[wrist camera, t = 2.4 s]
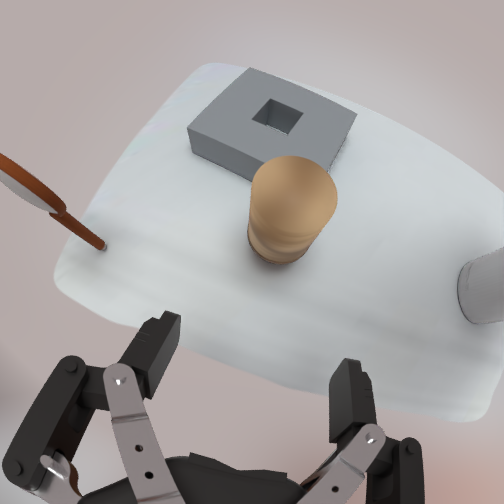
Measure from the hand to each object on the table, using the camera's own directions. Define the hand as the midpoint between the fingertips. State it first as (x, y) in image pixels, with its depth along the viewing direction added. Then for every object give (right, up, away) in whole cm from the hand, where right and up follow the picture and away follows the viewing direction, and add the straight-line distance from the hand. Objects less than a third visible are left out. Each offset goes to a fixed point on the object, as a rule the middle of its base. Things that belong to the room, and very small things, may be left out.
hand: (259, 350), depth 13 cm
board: (+3, +19, +22) cm, 29 cm away
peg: (+2, +5, +18) cm, 19 cm away
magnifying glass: (-18, +5, +17) cm, 25 cm away
